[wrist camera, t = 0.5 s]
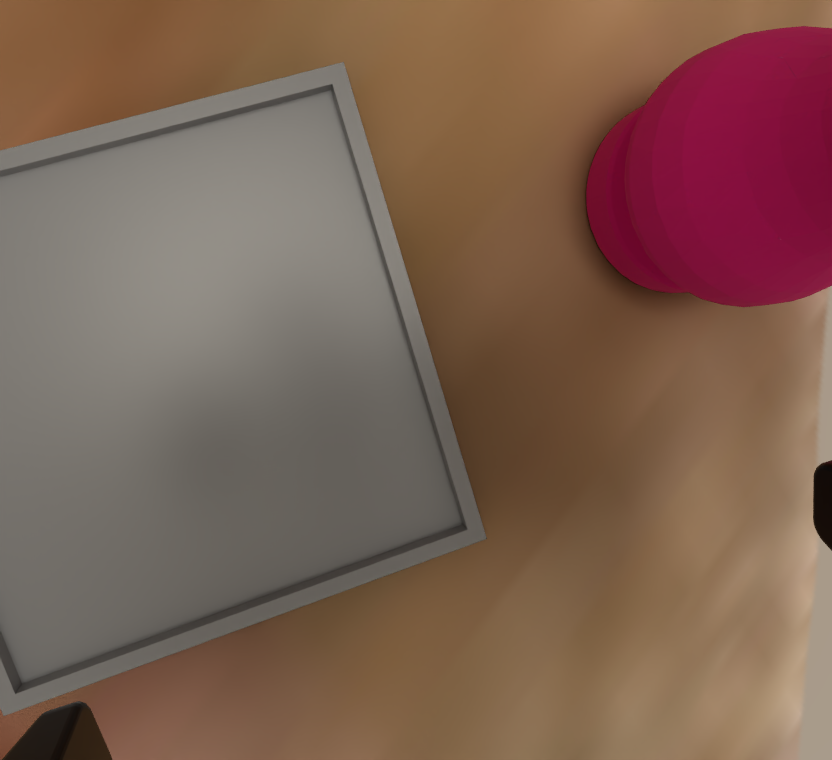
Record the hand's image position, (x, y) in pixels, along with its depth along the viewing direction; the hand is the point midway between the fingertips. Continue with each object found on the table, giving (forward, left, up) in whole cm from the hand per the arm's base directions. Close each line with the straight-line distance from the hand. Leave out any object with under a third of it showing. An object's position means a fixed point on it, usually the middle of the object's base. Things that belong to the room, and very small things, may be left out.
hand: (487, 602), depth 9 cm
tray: (+3, +5, -15) cm, 16 cm away
